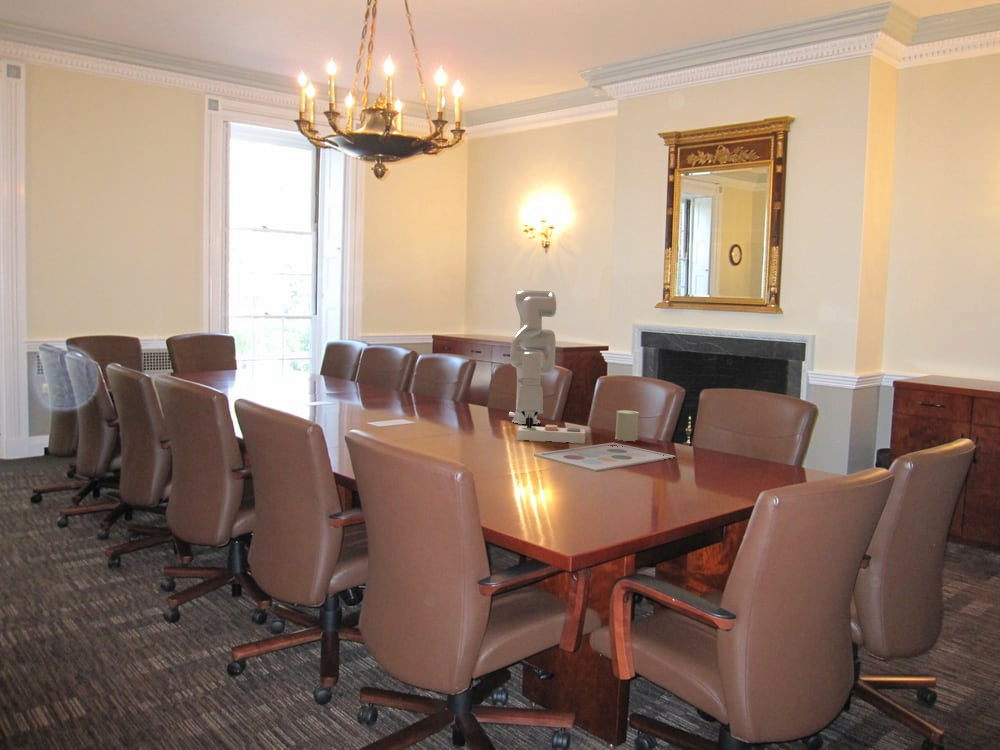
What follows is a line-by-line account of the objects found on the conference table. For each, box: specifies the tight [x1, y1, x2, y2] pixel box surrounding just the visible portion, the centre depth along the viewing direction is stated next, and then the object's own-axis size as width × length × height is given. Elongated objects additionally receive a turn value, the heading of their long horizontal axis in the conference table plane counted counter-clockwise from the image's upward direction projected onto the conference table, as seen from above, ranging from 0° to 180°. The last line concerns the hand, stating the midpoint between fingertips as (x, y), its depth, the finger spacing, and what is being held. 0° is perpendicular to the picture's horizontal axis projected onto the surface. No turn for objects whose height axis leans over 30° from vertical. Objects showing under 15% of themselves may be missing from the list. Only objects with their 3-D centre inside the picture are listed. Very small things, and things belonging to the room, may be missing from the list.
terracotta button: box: [544, 424, 558, 431], centre depth 339 cm, size 5×5×4 cm
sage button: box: [522, 425, 536, 430], centre depth 339 cm, size 5×5×4 cm
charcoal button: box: [567, 427, 581, 432], centre depth 338 cm, size 5×5×4 cm
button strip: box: [516, 425, 586, 444], centre depth 339 cm, size 27×11×4 cm, turn 86°
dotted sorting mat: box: [533, 442, 676, 472], centre depth 307 cm, size 30×1×43 cm
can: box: [614, 409, 640, 442], centre depth 344 cm, size 9×9×12 cm
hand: (529, 427), depth 339 cm, fingers closed
